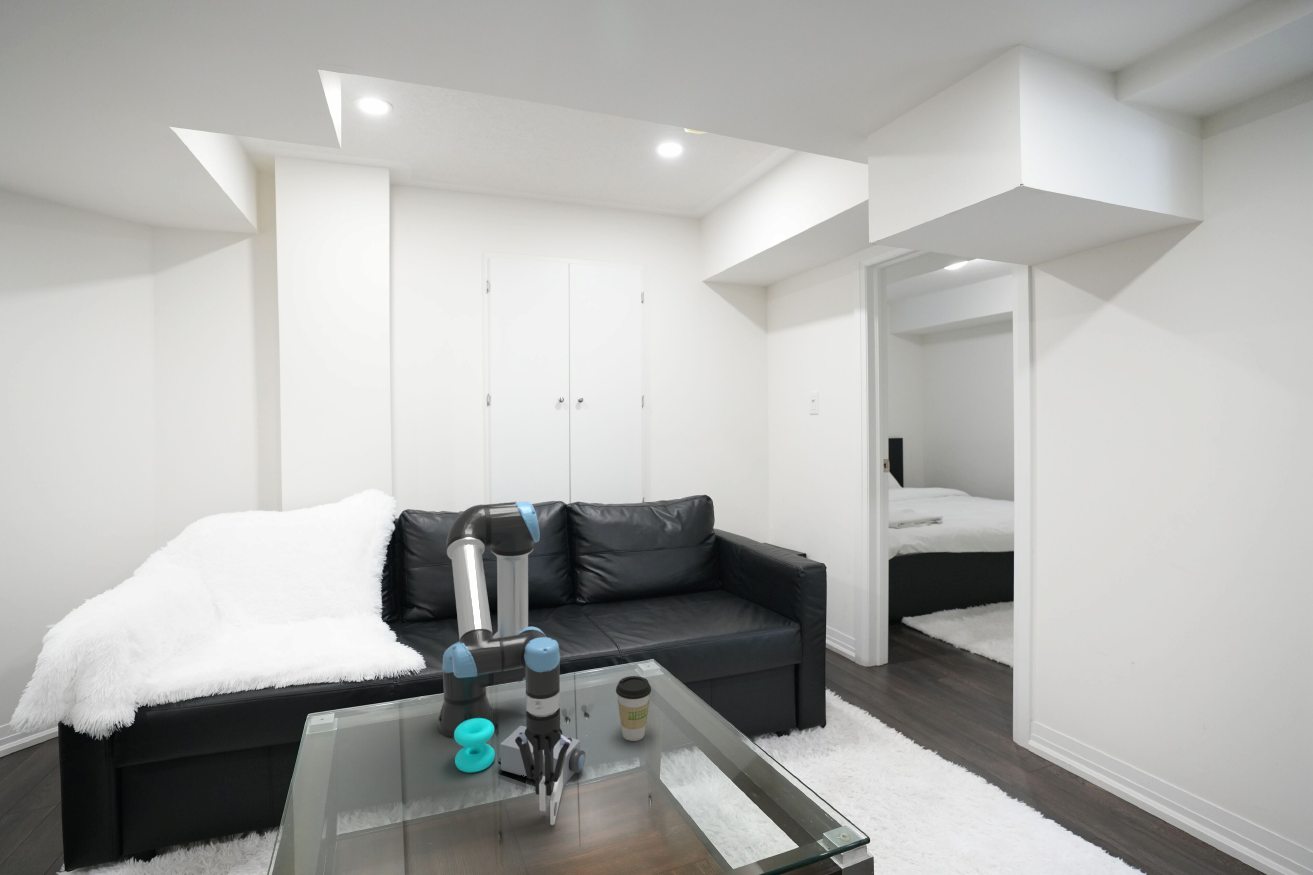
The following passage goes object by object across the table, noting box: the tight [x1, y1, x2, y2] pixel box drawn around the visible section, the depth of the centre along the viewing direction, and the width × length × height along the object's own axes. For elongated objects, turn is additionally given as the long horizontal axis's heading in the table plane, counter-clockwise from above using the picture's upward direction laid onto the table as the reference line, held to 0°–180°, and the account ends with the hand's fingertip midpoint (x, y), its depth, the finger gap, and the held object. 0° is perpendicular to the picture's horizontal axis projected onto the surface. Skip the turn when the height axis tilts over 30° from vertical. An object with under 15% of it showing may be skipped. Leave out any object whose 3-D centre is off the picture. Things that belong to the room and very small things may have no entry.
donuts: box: [453, 718, 496, 773], centre depth 164 cm, size 10×10×10 cm
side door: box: [549, 768, 564, 826], centre depth 148 cm, size 14×2×6 cm, turn 0°
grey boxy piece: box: [499, 725, 586, 787], centre depth 162 cm, size 20×9×8 cm, turn 68°
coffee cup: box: [615, 675, 652, 742], centre depth 177 cm, size 10×10×15 cm
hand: (544, 806), depth 145 cm, fingers closed
